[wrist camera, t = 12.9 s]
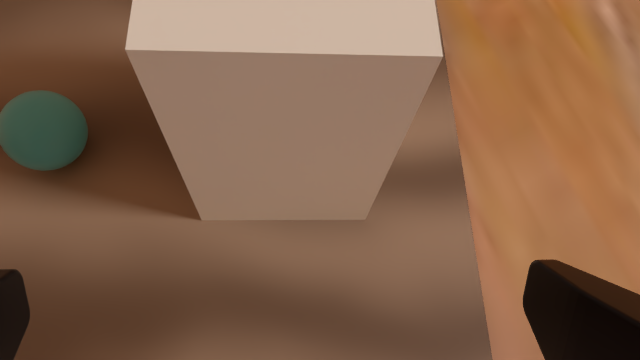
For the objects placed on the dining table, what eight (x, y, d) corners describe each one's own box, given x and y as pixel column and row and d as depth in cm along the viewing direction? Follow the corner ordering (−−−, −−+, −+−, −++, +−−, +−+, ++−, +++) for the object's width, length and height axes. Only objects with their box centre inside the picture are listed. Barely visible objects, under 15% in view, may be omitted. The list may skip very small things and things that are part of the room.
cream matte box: (365, 219, 20) (442, 56, 10) (201, 220, 20) (124, 49, 10) (355, 83, 23) (412, -150, 13) (211, 81, 22) (157, -163, 12)
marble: (45, 197, 19) (7, 164, 17) (6, 144, 20) (-38, 104, 17) (113, 152, 20) (87, 114, 18) (73, 103, 21) (41, 60, 18)
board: (489, 375, 19) (494, 374, 18) (-216, 398, 17) (-230, 397, 16) (431, -5, 26) (434, -12, 25) (-68, -19, 24) (-75, -27, 23)
